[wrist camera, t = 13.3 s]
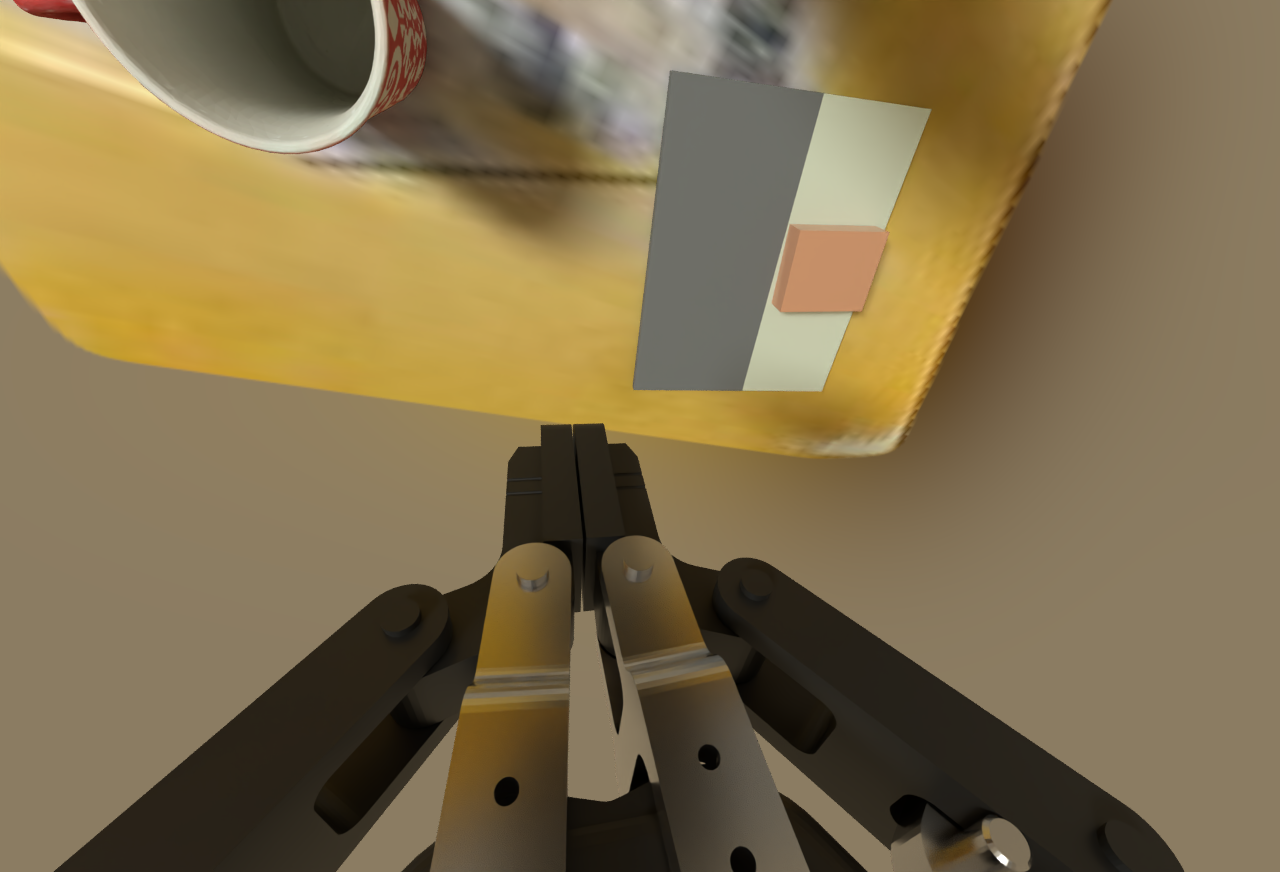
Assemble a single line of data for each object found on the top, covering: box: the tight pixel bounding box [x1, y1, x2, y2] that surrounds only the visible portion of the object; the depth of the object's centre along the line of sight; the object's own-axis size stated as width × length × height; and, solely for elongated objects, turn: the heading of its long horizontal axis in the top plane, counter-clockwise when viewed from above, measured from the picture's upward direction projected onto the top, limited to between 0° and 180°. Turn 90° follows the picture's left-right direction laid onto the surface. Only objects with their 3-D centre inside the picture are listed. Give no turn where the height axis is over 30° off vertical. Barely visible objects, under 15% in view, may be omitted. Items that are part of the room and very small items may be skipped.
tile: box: [772, 224, 889, 312], centre depth 36 cm, size 6×2×7 cm
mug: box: [14, 0, 427, 154], centre depth 20 cm, size 13×9×14 cm
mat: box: [633, 71, 932, 391], centre depth 37 cm, size 22×18×1 cm
